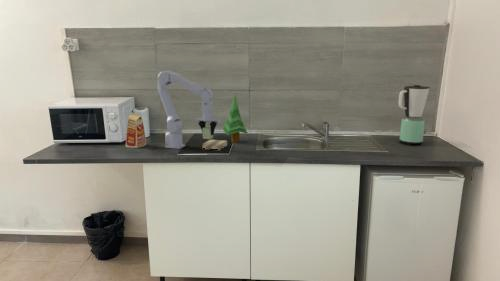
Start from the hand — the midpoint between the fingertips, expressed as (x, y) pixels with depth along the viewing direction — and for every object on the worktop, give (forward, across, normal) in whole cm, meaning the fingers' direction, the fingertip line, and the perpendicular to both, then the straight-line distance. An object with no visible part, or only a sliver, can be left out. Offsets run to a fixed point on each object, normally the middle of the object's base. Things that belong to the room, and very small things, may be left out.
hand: (208, 134), depth 207 cm
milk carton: (+8, -44, -6) cm, 45 cm away
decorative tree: (+9, +9, +20) cm, 24 cm away
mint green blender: (+9, +112, +49) cm, 122 cm away
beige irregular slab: (+8, +2, +4) cm, 10 cm away
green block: (+2, 0, 0) cm, 2 cm away
